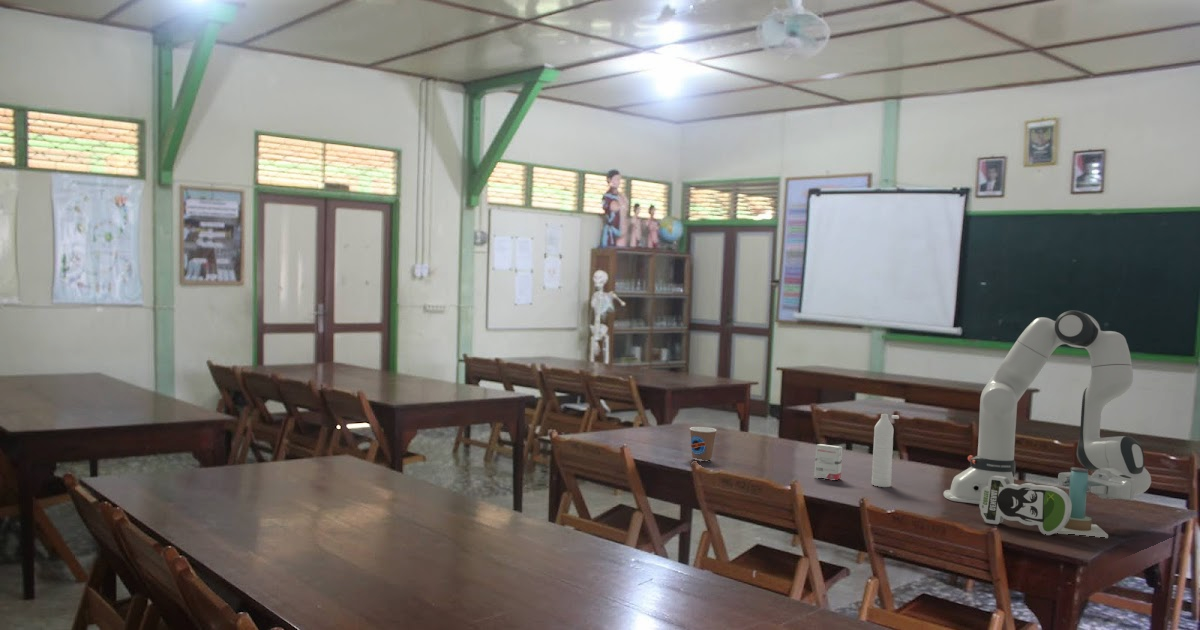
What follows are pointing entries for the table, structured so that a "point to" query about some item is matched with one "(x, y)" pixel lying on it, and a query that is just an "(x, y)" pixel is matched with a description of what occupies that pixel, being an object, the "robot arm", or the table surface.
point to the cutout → (1025, 504)
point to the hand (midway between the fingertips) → (1076, 486)
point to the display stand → (1082, 528)
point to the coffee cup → (702, 442)
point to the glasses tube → (1078, 491)
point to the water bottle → (883, 452)
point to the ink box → (828, 461)
